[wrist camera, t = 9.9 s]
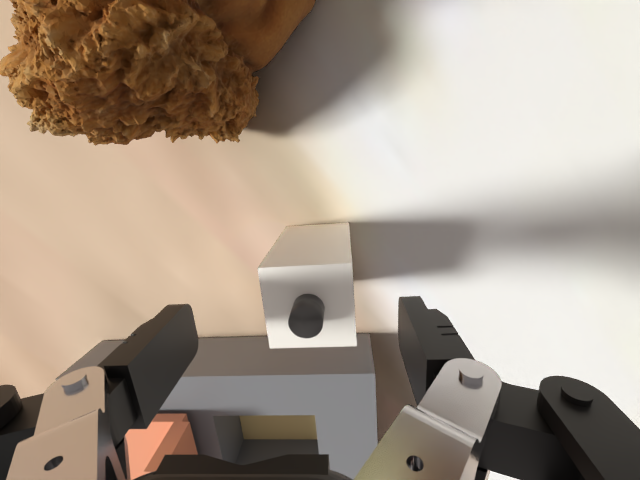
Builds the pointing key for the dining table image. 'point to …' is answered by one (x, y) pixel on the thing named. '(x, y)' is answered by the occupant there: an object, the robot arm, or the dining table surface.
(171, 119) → the stuffed squirrel
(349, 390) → the socket block
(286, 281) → the plug
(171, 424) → the shutter
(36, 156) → the dining table surface
